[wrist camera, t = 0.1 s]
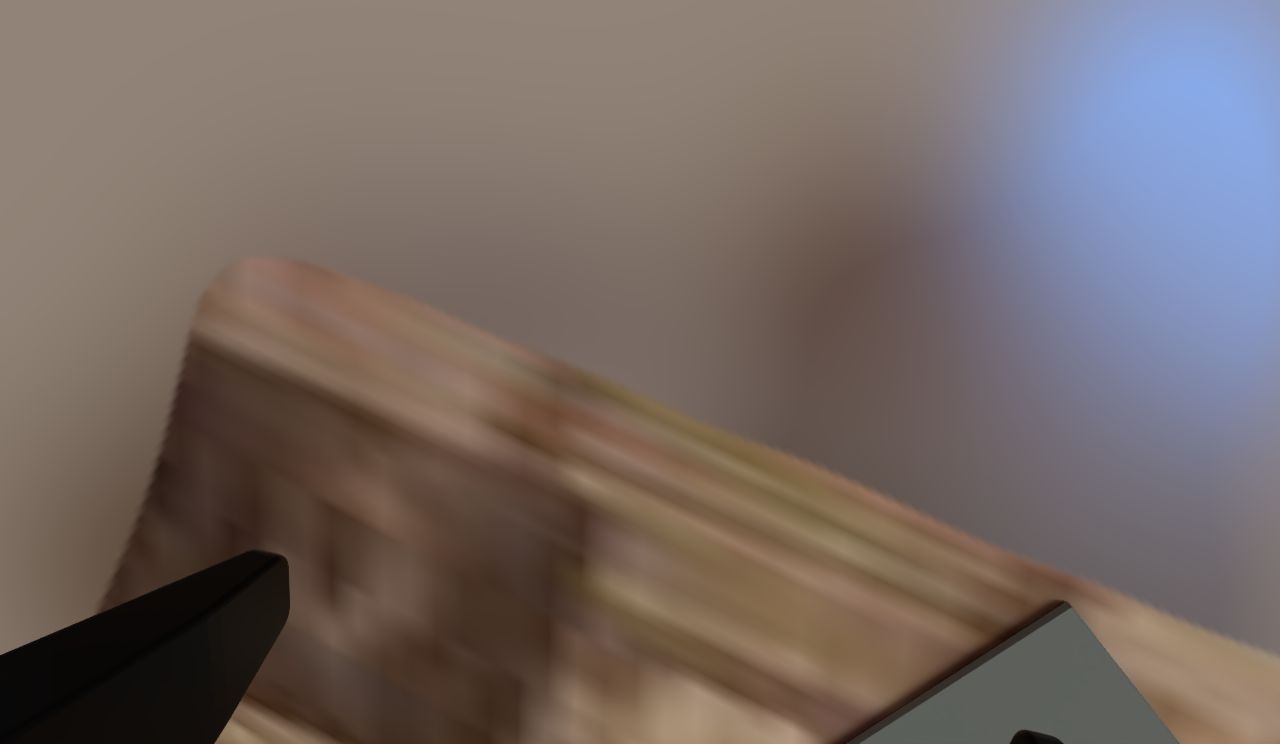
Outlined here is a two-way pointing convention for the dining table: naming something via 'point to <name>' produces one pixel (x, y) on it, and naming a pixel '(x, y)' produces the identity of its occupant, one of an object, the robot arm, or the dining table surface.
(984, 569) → the dining table surface
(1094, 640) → the mat
